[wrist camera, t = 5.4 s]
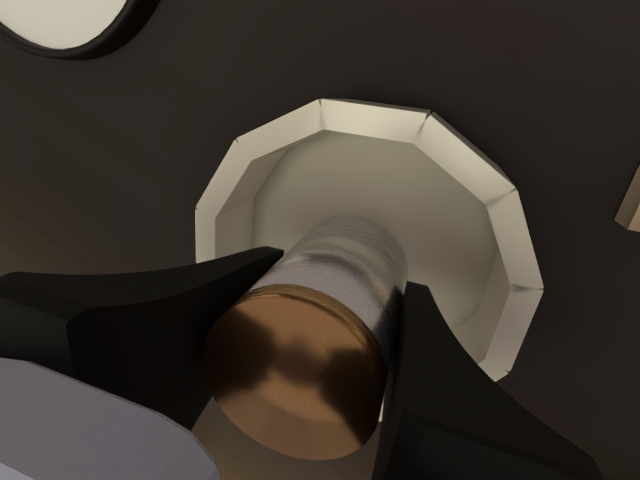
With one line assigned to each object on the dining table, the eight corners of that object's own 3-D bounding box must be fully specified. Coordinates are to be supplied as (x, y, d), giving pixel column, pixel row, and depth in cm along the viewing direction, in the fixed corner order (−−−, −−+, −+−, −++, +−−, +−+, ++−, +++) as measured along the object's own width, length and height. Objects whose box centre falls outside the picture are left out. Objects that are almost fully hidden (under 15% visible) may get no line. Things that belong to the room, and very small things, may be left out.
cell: (394, 330, 13) (361, 485, 8) (292, 301, 14) (202, 421, 9) (420, 230, 12) (400, 337, 6) (304, 203, 13) (202, 279, 7)
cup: (467, 391, 16) (472, 462, 13) (238, 321, 19) (197, 365, 16) (563, 128, 12) (606, 138, 9) (247, 84, 14) (192, 80, 11)
